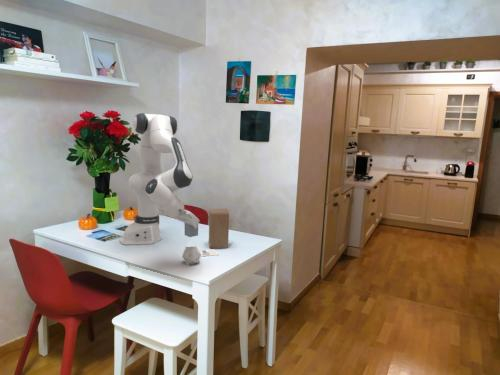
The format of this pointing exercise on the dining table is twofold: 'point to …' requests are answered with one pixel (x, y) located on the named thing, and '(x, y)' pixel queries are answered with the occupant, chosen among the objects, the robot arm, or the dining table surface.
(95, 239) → the dining table surface
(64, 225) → the dining table surface
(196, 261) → the die
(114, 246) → the dining table surface
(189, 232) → the brick
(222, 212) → the block
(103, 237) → the dining table surface
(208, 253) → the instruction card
